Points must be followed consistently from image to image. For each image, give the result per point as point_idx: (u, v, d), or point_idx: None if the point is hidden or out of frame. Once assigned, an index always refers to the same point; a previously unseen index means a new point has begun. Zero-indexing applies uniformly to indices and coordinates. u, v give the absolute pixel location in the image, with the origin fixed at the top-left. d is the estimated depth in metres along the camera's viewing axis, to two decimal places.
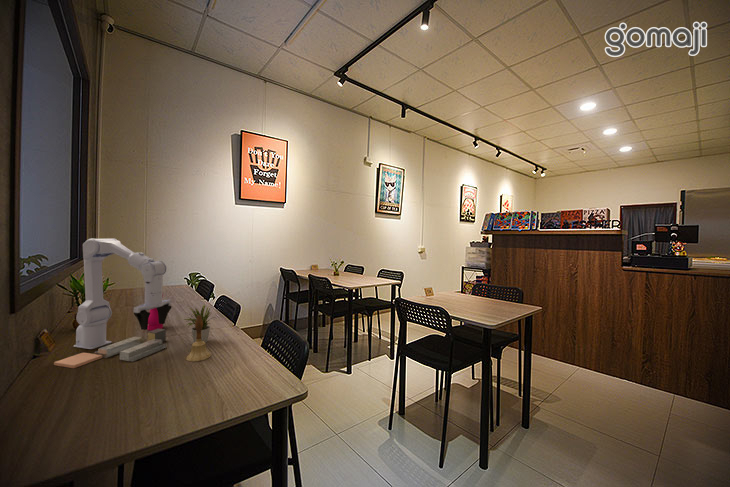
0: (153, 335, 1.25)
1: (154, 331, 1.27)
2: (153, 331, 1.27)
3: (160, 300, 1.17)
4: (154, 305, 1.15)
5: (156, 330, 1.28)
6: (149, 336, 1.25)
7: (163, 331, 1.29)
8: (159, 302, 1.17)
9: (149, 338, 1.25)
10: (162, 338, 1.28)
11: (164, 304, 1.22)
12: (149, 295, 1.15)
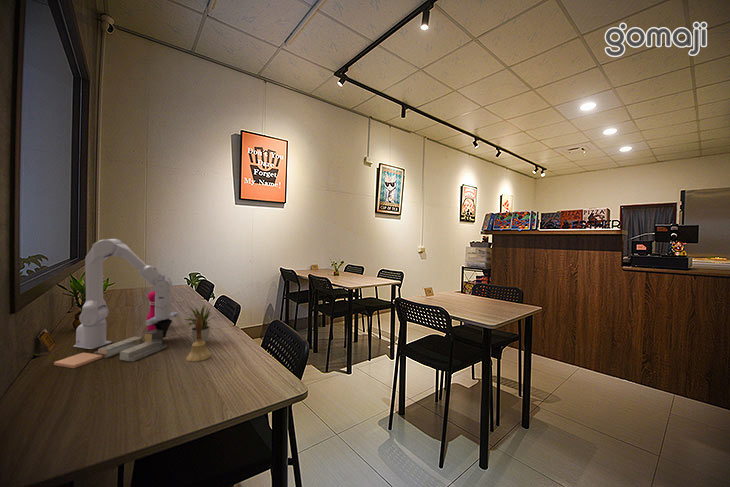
0: (150, 336, 1.24)
1: (151, 332, 1.25)
2: (150, 332, 1.25)
3: (169, 313, 1.30)
4: (163, 318, 1.28)
5: (153, 331, 1.27)
6: (146, 337, 1.24)
7: (160, 332, 1.27)
8: (168, 315, 1.30)
9: (146, 339, 1.24)
10: (159, 339, 1.27)
11: (172, 316, 1.35)
12: (159, 309, 1.27)
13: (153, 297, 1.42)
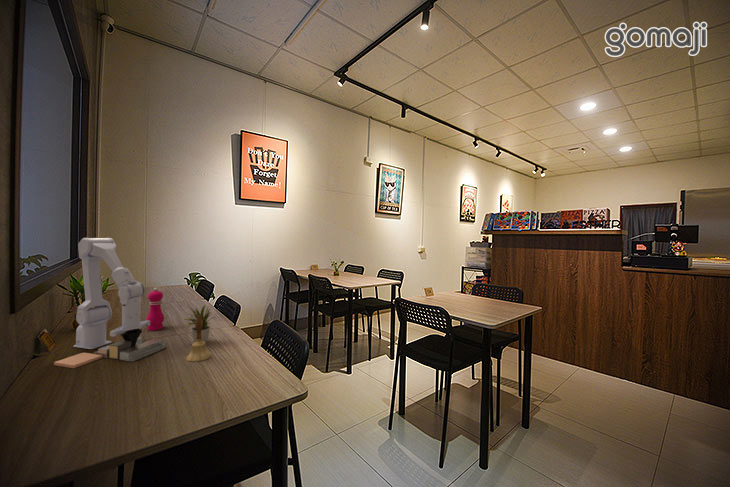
0: (115, 349, 1.10)
1: (117, 343, 1.12)
2: (116, 343, 1.12)
3: (138, 322, 1.16)
4: (131, 328, 1.14)
5: (120, 342, 1.13)
6: (111, 349, 1.10)
7: (128, 343, 1.14)
8: (137, 324, 1.16)
9: (111, 352, 1.10)
10: None
11: (143, 325, 1.21)
12: (126, 318, 1.14)
13: (153, 297, 1.42)
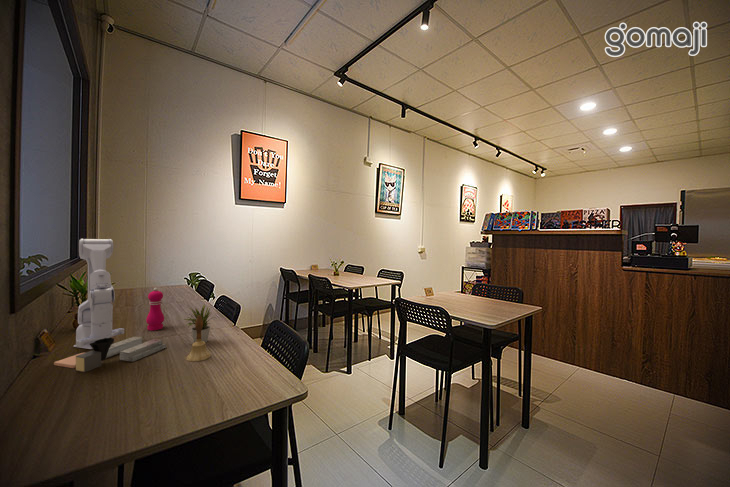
0: (82, 361, 0.99)
1: (85, 355, 1.01)
2: (83, 355, 1.01)
3: (109, 331, 1.06)
4: (101, 337, 1.04)
5: (88, 353, 1.02)
6: (77, 361, 1.00)
7: (97, 354, 1.03)
8: (108, 333, 1.05)
9: (78, 364, 1.00)
10: (96, 363, 1.03)
11: (115, 334, 1.10)
12: (95, 326, 1.03)
13: (153, 297, 1.42)
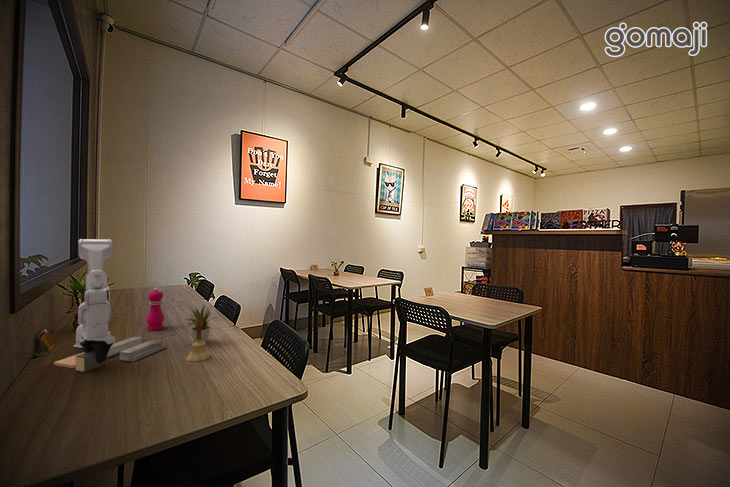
0: (82, 360, 0.99)
1: (84, 355, 1.01)
2: (83, 355, 1.01)
3: None
4: (108, 334, 1.06)
5: (88, 353, 1.02)
6: (77, 361, 1.00)
7: None
8: None
9: (78, 364, 1.00)
10: (95, 363, 1.03)
11: None
12: (105, 324, 1.05)
13: (153, 297, 1.42)
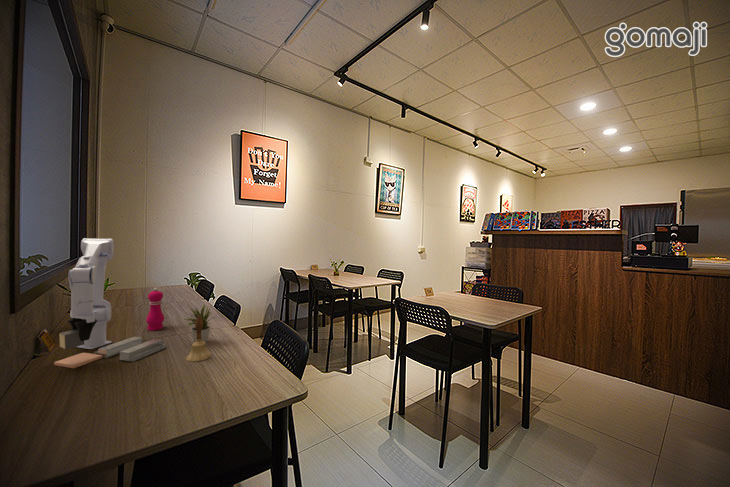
0: (63, 338, 1.01)
1: (67, 332, 1.03)
2: (66, 332, 1.03)
3: None
4: None
5: (72, 331, 1.04)
6: (60, 338, 1.02)
7: None
8: None
9: (61, 341, 1.02)
10: (78, 341, 1.04)
11: None
12: (89, 303, 1.06)
13: (153, 297, 1.42)
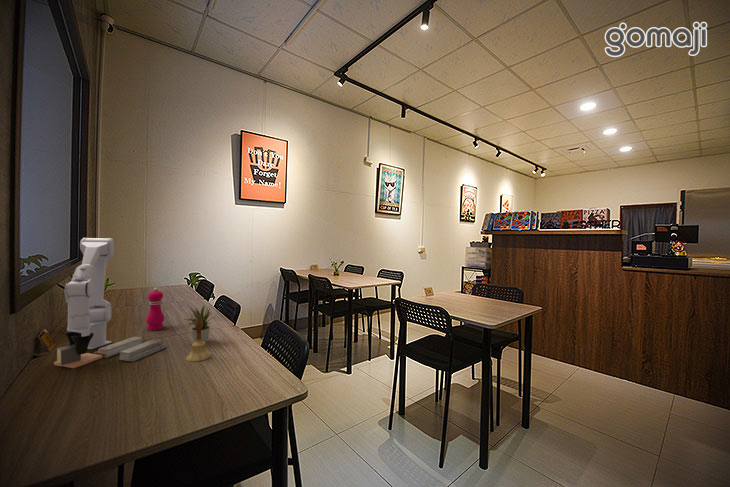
0: (59, 353, 1.02)
1: (65, 347, 1.04)
2: (64, 347, 1.04)
3: None
4: (89, 326, 1.08)
5: (69, 346, 1.05)
6: (58, 353, 1.03)
7: None
8: None
9: (58, 356, 1.03)
10: (74, 357, 1.05)
11: None
12: (85, 316, 1.06)
13: (153, 297, 1.42)
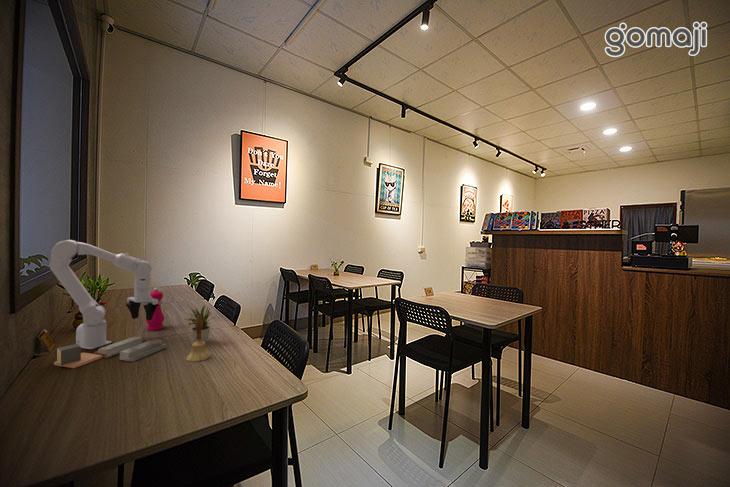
0: (59, 353, 1.02)
1: (65, 347, 1.04)
2: (64, 347, 1.04)
3: None
4: None
5: (69, 346, 1.05)
6: (58, 353, 1.03)
7: (76, 348, 1.05)
8: None
9: (58, 356, 1.03)
10: (74, 357, 1.05)
11: (134, 300, 1.33)
12: (149, 290, 1.32)
13: (153, 297, 1.42)
